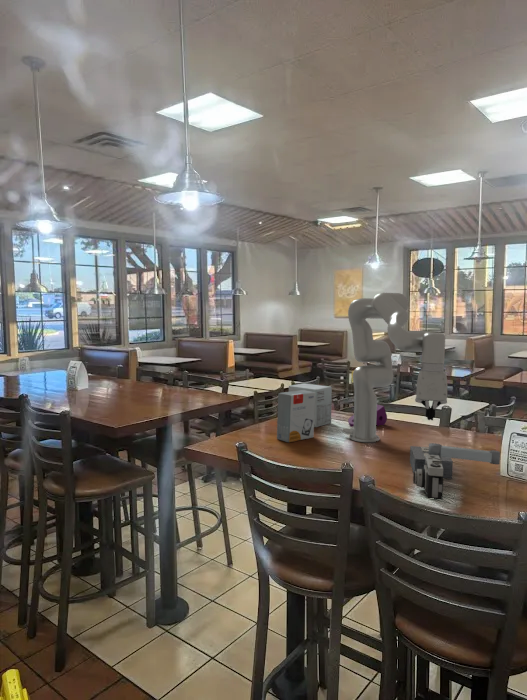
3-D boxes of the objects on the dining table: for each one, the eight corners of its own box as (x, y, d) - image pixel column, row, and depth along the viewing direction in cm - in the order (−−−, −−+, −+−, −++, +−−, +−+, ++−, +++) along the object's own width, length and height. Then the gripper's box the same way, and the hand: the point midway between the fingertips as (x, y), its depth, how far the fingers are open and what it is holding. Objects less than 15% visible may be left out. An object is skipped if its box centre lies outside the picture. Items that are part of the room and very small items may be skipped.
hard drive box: (288, 443, 206) (289, 395, 205) (276, 439, 212) (276, 392, 211) (314, 437, 217) (315, 391, 215) (301, 433, 222) (302, 389, 221)
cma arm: (428, 453, 167) (429, 442, 167) (499, 461, 159) (499, 450, 159) (427, 456, 164) (428, 445, 163) (499, 465, 155) (500, 454, 155)
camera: (412, 481, 163) (413, 451, 162) (438, 484, 161) (440, 453, 160) (414, 497, 150) (415, 464, 149) (443, 500, 148) (444, 467, 147)
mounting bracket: (362, 440, 235) (388, 421, 242) (357, 425, 232) (383, 406, 239) (349, 436, 243) (375, 417, 250) (344, 421, 240) (370, 402, 248)
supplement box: (332, 423, 244) (333, 386, 242) (316, 427, 234) (317, 389, 232) (303, 417, 255) (304, 382, 253) (287, 421, 245) (287, 385, 243)
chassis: (415, 479, 165) (416, 456, 164) (409, 462, 184) (410, 441, 183) (453, 482, 163) (454, 459, 162) (443, 464, 181) (444, 443, 181)
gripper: (411, 368, 173) (409, 420, 175) (457, 370, 171) (454, 423, 172) (409, 365, 181) (407, 415, 182) (452, 367, 178) (450, 418, 180)
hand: (430, 419), depth 177 cm, fingers closed
